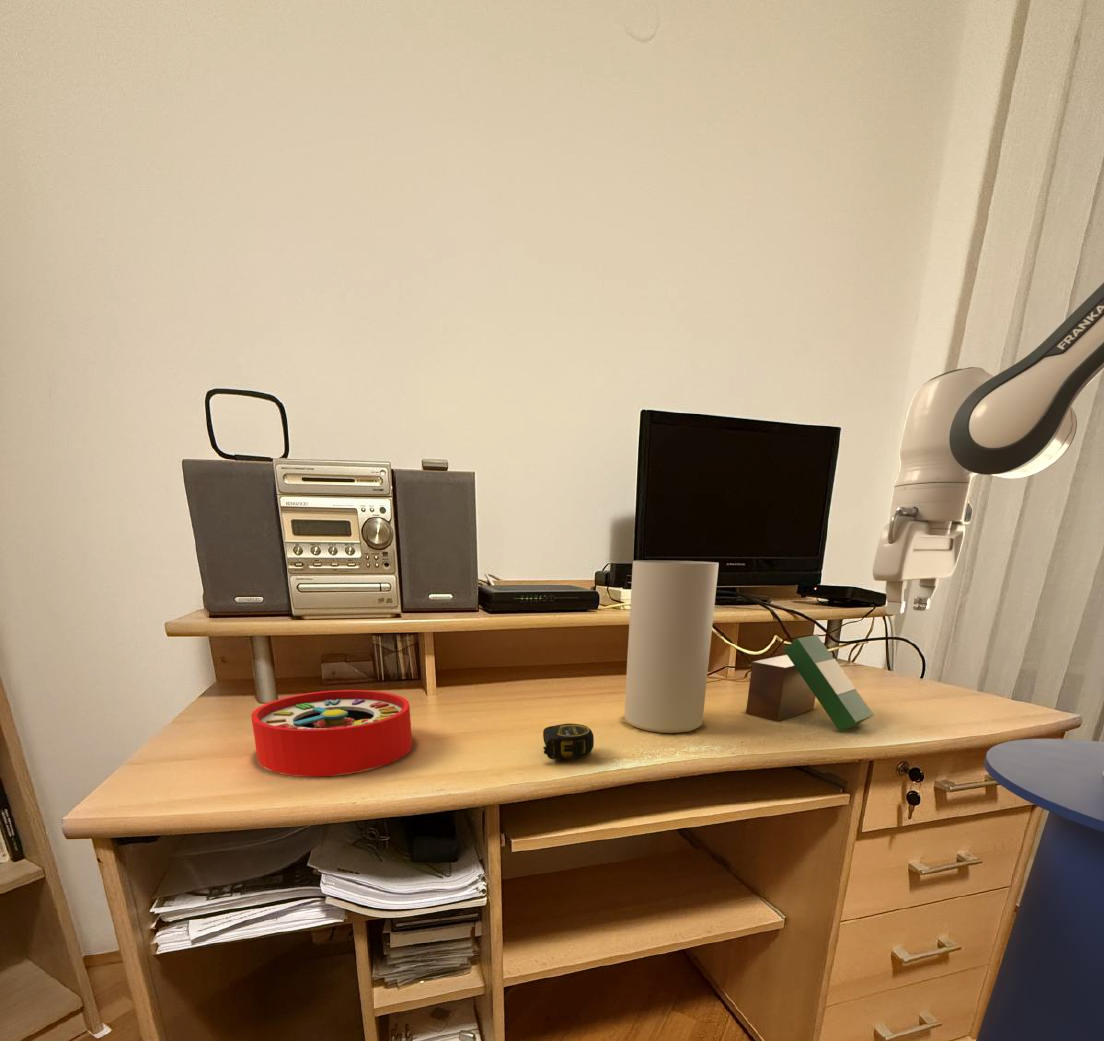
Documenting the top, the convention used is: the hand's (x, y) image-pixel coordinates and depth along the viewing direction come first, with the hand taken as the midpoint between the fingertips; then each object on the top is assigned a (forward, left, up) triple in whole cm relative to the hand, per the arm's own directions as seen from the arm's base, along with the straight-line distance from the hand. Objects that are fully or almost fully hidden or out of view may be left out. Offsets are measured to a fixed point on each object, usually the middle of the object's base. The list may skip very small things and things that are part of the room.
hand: (908, 612), depth 83 cm
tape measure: (+23, +45, -19) cm, 54 cm away
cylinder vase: (+25, +22, -19) cm, 38 cm away
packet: (+10, 0, -12) cm, 15 cm away
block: (+17, 0, -19) cm, 25 cm away
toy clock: (+44, +68, -19) cm, 83 cm away
